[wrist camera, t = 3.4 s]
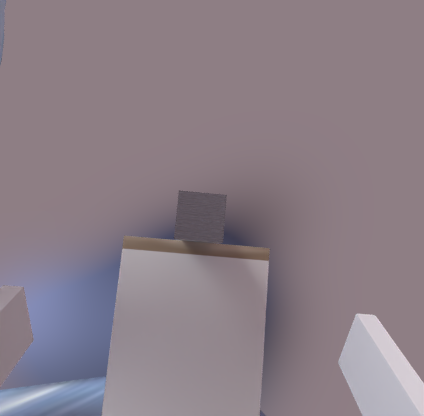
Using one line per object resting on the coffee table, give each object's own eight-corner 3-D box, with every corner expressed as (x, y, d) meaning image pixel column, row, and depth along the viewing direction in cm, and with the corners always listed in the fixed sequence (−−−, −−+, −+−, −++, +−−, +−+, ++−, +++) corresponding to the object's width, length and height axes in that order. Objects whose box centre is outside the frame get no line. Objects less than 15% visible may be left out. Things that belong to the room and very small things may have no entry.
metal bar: (222, 242, 18) (226, 195, 18) (174, 238, 18) (178, 190, 18) (207, 243, 43) (209, 224, 44) (187, 242, 43) (189, 222, 44)
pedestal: (248, 610, 24) (269, 248, 28) (78, 604, 23) (124, 235, 27) (228, 464, 40) (243, 247, 44) (126, 459, 39) (151, 239, 43)
